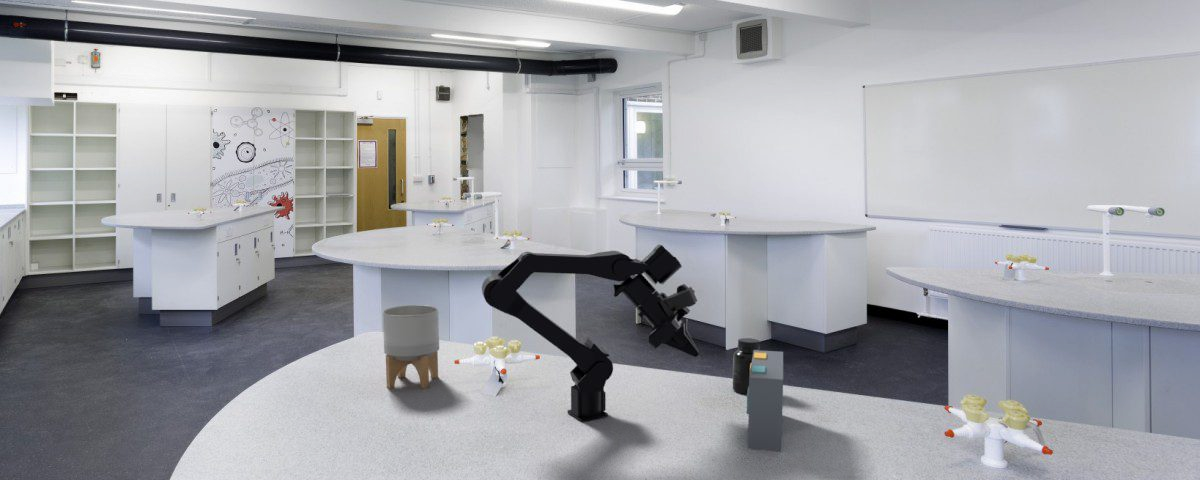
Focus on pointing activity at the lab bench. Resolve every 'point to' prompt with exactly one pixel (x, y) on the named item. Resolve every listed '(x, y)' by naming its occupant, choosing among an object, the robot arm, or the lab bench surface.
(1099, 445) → the lab bench surface
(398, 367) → the planter
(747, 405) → the teal button
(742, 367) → the supplement bottle
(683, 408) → the lab bench surface
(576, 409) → the robot arm
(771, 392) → the button panel
